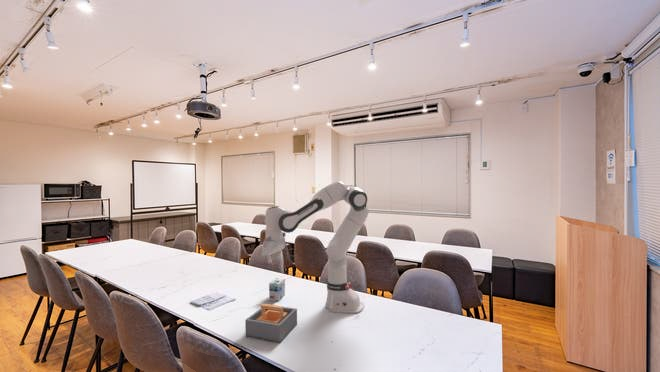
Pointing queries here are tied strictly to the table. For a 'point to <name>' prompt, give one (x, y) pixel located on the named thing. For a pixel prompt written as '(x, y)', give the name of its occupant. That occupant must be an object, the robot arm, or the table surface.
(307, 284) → the table surface
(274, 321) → the small crate
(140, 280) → the table surface
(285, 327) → the box
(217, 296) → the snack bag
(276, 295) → the light bulb box
